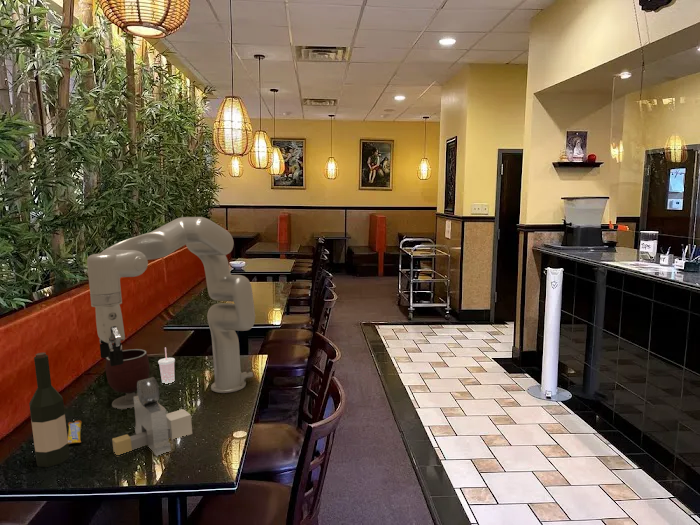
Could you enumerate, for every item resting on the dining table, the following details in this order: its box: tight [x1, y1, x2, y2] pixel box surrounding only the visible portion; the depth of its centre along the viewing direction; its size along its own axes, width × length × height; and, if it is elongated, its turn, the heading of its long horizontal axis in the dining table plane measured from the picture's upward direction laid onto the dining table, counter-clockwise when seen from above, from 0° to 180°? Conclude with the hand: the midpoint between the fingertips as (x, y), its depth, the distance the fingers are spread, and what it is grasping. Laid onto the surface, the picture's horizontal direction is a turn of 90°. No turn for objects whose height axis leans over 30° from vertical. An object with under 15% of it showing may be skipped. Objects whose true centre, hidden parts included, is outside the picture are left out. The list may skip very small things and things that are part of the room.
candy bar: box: [67, 420, 83, 446], centre depth 155 cm, size 17×4×2 cm, turn 26°
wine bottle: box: [28, 352, 71, 468], centre depth 139 cm, size 8×8×30 cm
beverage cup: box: [157, 347, 176, 384], centre depth 196 cm, size 6×6×14 cm
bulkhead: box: [133, 376, 172, 457], centre depth 147 cm, size 4×19×19 cm, turn 39°
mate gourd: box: [105, 348, 151, 410], centre depth 178 cm, size 16×14×20 cm
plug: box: [111, 408, 193, 456], centre depth 148 cm, size 21×6×6 cm, turn 129°
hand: (112, 360), depth 140 cm, fingers open, 9 cm apart
